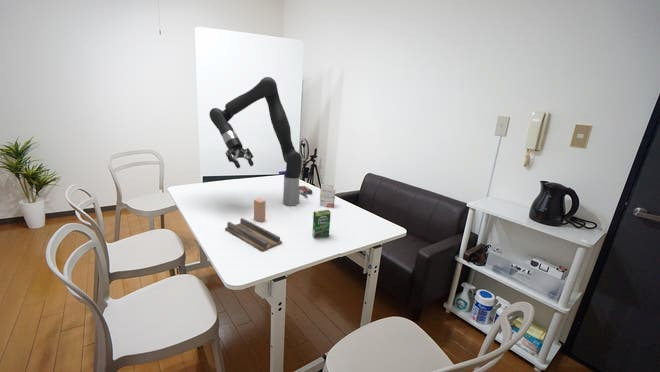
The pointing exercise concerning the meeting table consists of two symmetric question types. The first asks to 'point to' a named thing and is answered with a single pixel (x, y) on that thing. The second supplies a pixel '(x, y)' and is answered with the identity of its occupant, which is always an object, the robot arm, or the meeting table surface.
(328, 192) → the ink cartridge box
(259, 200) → the light orange-brown block
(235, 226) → the door track
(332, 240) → the meeting table surface
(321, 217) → the coffee box
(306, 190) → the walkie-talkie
